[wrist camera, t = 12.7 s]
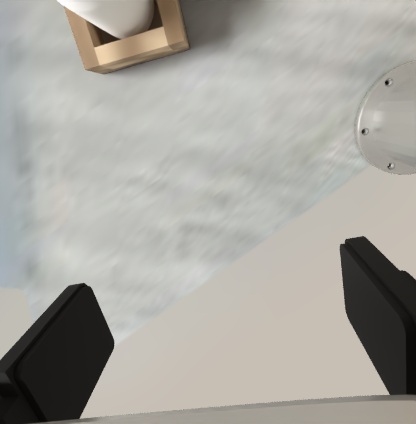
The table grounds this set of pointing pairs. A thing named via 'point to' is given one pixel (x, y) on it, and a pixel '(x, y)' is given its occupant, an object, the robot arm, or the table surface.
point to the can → (115, 15)
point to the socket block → (130, 40)
